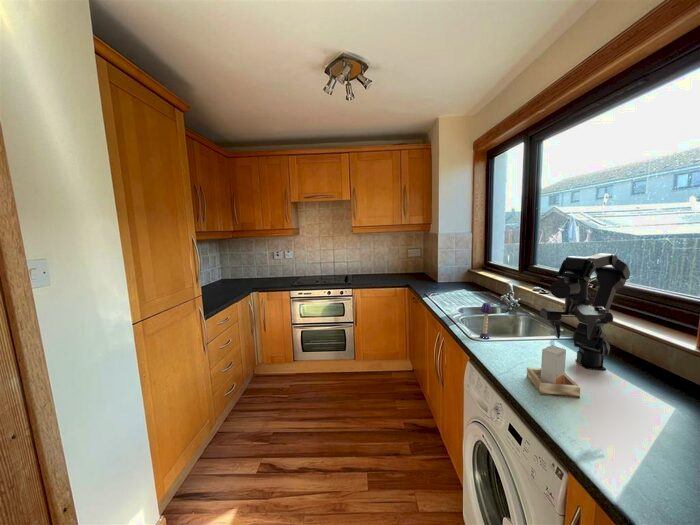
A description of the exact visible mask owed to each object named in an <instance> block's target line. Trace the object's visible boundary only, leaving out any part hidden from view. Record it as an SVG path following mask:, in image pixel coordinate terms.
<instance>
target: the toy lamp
mask: <svg viewBox="0 0 700 525" xmlns="http://www.w3.org/2000/svg"><path fill="white" fill-rule="evenodd" d="M480 312H482V313H483V325H482V326H483V328H482V330H483V331H482V333H481V334H480V335H479V338H480V337H481V339H482V338H483V337H484V338H486V337H487V338H489V337H490V335H489V334H488V323H489V322H488V321H489V314H492V313H493V310H492V305H491V303H490V302H483V303H482V305H481V308H480ZM490 338H491V337H490Z"/></svg>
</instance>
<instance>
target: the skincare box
mask: <svg viewBox="0 0 700 525" xmlns="http://www.w3.org/2000/svg"><path fill="white" fill-rule="evenodd" d="M541 352H542V353H541V367H540V368H541V378H540V380H541V381H542V382H543V383H550V384H563V385H564V372H565V373H566V370H565V368H566V355H567V349H565V348H562V347H559V346H555V345H552V344H551V345H550V346H546V347H544V348H542V350H541Z"/></svg>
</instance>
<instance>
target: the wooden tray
mask: <svg viewBox="0 0 700 525" xmlns="http://www.w3.org/2000/svg"><path fill="white" fill-rule="evenodd" d="M526 378H527V380H529V382H530V384H531V385H532V387H534V388H535V390H536V391H537V392H538V394H539V395H540V396H547V397H557V398H568V399H569V398H570V399H580V397H581V387H580V386H579V384H578V383H576V382H575V381H574V380H573V379H572V377H570V376H569V375H568V374H567V373H566V371H565V372H564V385H563V384H550V383H543V382H542V381H541V380H540V378H541V367H526Z"/></svg>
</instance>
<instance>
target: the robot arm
mask: <svg viewBox="0 0 700 525" xmlns="http://www.w3.org/2000/svg"><path fill="white" fill-rule="evenodd" d="M593 273H595V275H596V277H595V279H596V281H597V283H598V288H597V290H596V294H595V296H594V299H593V301H592V305H591V299H589V297H588V295H589V283H590V280H592V278H591V276H592V275H593ZM556 276H557V279H556V280H555V281H553V282H552V283H551V284H550V286H549V289H550V290H549V291H550V293H551V295H552V296H553V297H555V298H558V299H561V300H562V299H564V305H563V306H562V310H559V309H557V308H554V307H542V308H541V309H540V311H539V312H540V313H539V314H540V316H541V317H543V318H544V319H546V320H548V321H549V324H550V325H551V327H552V329H553V332H554V334H555V337H556V338H557V339H560V338H561V337H560V336H561V324H562V322H563V321H562V320H561V319H562V318H576V319H577V321H578V322H579V323H578V324H577V327H576V329H575V331H574V332H573V335H572V337H573V339H572V340H573V343H574V344H573V346H574V347H575V348H578V350H577V351H576V359H575V360H574V361H575V362H576V363H578V364H579V365H580V366H581V367H582V368H584V369H586V370H599V371H606V370H607V368H606V367H605V366H604V360H605V359H604V358H605V355H606V356H607V355H609V354H610V350H611V345H610V344H609V342H608V340H607V333H606V330H605V329H604V325H608V324H609V323H613V322H614V315H613V313H612V312H610V311H609V310H610V308H611V306H612V303H613V299H614V298H615V294H616V292H617V291H618V290H619V289H620V288H622V287H624V286H625V285H626V282H627V280H629V279H630V276H631V272H630V268H629V267H628V264H627V263H625V262H624V261H622V260H621V259H620V258H618V255H617V254H614V253H605V252H602V253H601V252H600V253H599V252H598V253H596V254H593V255H589V256H588V255H587V256H572V255H571V256H570V255H568V256H566V257H565V258H564V260H562V263H561V265H560V268H559V270H558V272H557V273H556Z"/></svg>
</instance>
